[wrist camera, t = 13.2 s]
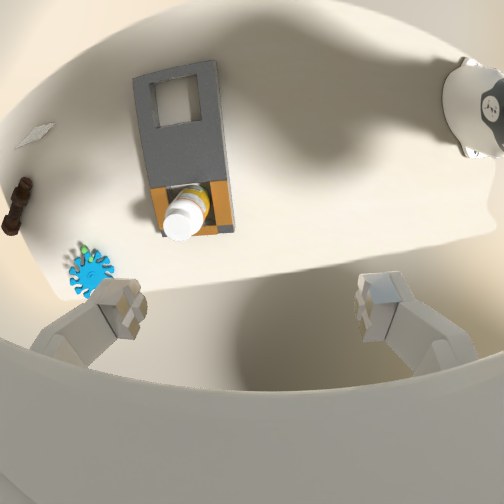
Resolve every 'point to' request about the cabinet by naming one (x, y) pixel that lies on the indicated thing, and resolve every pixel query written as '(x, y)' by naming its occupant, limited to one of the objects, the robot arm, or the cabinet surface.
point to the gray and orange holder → (186, 146)
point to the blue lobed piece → (90, 271)
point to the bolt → (17, 207)
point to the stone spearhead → (36, 134)
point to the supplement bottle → (186, 213)
